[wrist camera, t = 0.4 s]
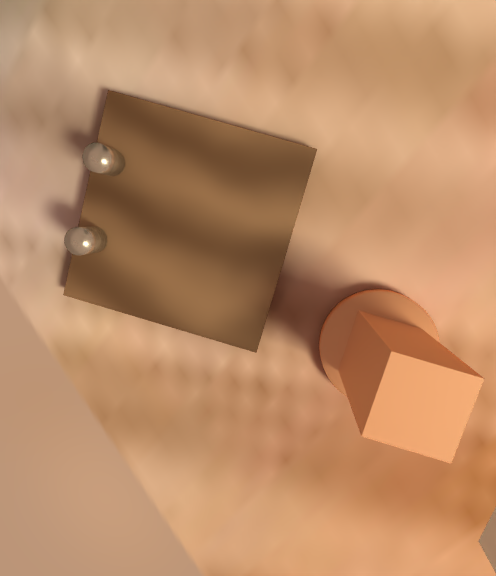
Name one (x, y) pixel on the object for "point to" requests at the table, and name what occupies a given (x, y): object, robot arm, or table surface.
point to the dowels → (104, 163)
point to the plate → (190, 221)
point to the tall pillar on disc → (398, 373)
